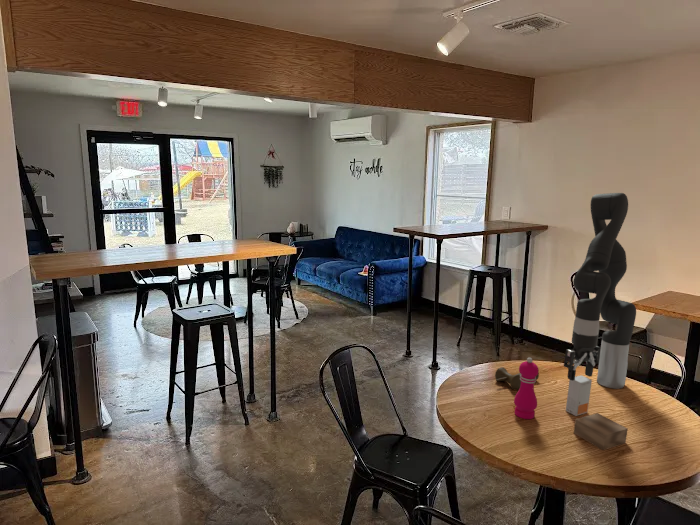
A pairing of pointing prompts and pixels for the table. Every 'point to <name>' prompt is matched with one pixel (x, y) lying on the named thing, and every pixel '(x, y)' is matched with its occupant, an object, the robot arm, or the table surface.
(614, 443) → the walnut block
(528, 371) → the pepper mill
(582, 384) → the skincare box
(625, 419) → the table surface
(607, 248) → the robot arm
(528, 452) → the table surface
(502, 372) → the kendama
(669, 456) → the table surface
